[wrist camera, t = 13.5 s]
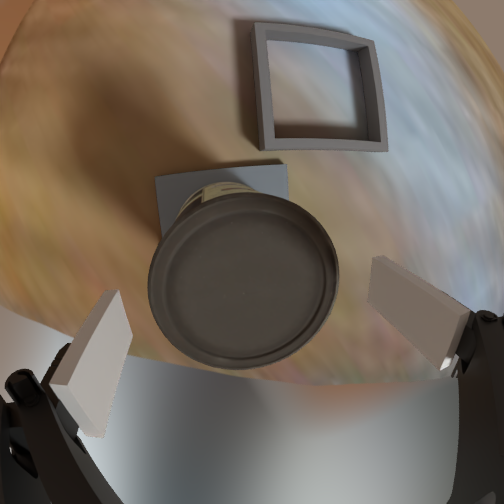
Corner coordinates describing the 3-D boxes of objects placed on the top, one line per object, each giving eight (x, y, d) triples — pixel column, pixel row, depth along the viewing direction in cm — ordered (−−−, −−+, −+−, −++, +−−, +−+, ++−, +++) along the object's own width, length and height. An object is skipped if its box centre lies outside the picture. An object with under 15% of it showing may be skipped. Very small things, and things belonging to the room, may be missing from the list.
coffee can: (201, 295, 29) (203, 391, 15) (158, 207, 25) (111, 247, 12) (290, 257, 29) (355, 327, 16) (255, 165, 26) (308, 161, 12)
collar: (250, 32, 22) (254, 22, 19) (363, 47, 24) (373, 40, 21) (259, 151, 26) (265, 149, 24) (375, 152, 28) (388, 151, 26)
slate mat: (156, 176, 25) (154, 176, 24) (284, 164, 27) (286, 164, 26) (174, 296, 29) (173, 299, 28) (289, 281, 31) (291, 284, 30)
